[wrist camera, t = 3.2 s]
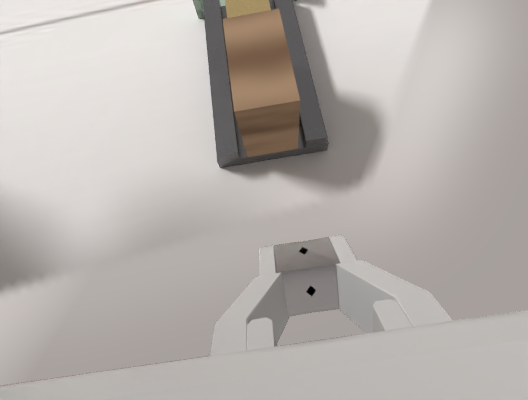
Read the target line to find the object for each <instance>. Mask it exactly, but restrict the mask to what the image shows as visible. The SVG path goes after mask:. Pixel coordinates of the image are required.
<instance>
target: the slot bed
mask: <svg viewBox="0 0 528 400" xmlns="http://www.w3.org/2000/svg"><path fill="white" fill-rule="evenodd" d="M269 3H270V8H271V10H274V9H279V11H280V15H281V19H282V24H283V28H284V32H285V37H286V41H287V45H288V50H289V54H290V58H291V63H292V67H293V71H294V76H295V80H296V84H297V89H298V93H299V97H300V115H299V135H298V149H294V150H288V151H282V152H276V153H270V154H264V155H258V156H252V157H247V154H246V151H245V147H244V144H243V140H242V137H241V134H240V130H239V127H238V123H237V120H236V117H235V113H234V107H233V99H232V91H231V83H230V75H229V67H228V59H227V50H226V42H225V34H224V26H223V19H225V18H227V12H226V6H221V4H220V0H203V8H204V19H205V30H206V41H207V52H208V63H209V74H210V85H211V96H212V107H213V118H214V129H215V140H216V151H217V162H218V164H219V166H220V168H222V167H228V166H234V165H240V164H246V163H252V162H258V161H264V160H270V159H276V158H282V157H288V156H294V155H300V154H306V153H312V152H318V151H324V150H327V147H328V140H327V134H326V130H325V126H324V122H323V119H322V115H321V111H320V107H319V103H318V99H317V95H316V91H315V88H314V84H313V80H312V76H311V72H310V68H309V64H308V61H307V57H306V53H305V49H304V45H303V41H302V37H301V33H300V30H299V26H298V22H297V18H296V14H295V10H294V6H293V3H292V0H269Z"/></svg>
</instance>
